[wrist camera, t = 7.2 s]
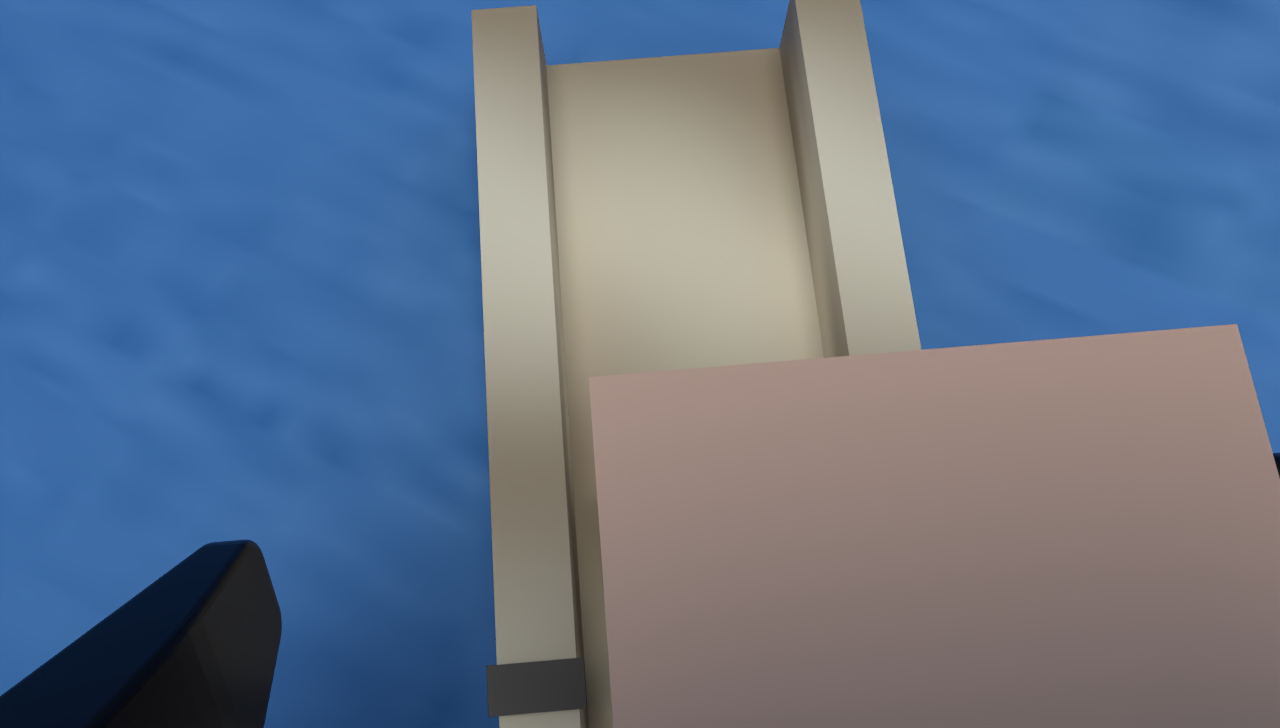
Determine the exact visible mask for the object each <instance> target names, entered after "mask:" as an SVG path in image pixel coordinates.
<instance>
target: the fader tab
mask: <svg viewBox="0 0 1280 728" xmlns="http://www.w3.org/2000/svg"><path fill="white" fill-rule="evenodd" d="M589 389H590V403H591V417H592V431H593V446H594V460H595V474H596V488H597V502H598V516H599V530H600V545H601V559H602V573H603V587H604V601H605V615H606V630H607V644H608V658H609V672H610V686H611V700H612V714H613V728H1280V478H1279V474H1278V471H1277V467H1276V464H1275V460H1274V456H1273V453H1272V449H1271V445H1270V442H1269V438H1268V435H1267V431H1266V427H1265V424H1264V420H1263V417H1262V413H1261V409H1260V406H1259V402H1258V398H1257V395H1256V391H1255V388H1254V384H1253V380H1252V377H1251V373H1250V369H1249V366H1248V362H1247V359H1246V355H1245V351H1244V348H1243V344H1242V341H1241V337H1240V333H1239V330H1238V326H1237V324H1232V325H1220V326H1208V327H1196V328H1184V329H1171V330H1159V331H1147V332H1135V333H1122V334H1110V335H1098V336H1086V337H1073V338H1061V339H1049V340H1037V341H1024V342H1012V343H1000V344H988V345H976V346H963V347H951V348H939V349H927V350H914V351H902V352H890V353H878V354H865V355H853V356H841V357H829V358H816V359H804V360H792V361H780V362H768V363H755V364H743V365H731V366H719V367H706V368H694V369H682V370H670V371H657V372H645V373H633V374H621V375H608V376H596V377H589Z"/></svg>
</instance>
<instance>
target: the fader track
mask: <svg viewBox="0 0 1280 728" xmlns="http://www.w3.org/2000/svg"><path fill="white" fill-rule="evenodd" d="M472 35H473V61H474V86H475V112H476V138H477V164H478V190H479V215H480V241H481V267H482V293H483V318H484V344H485V370H486V396H487V422H488V447H489V473H490V499H491V525H492V551H493V576H494V602H495V628H496V654H497V665H489V666H486V667H487V694H488V717H495V716H499V728H613V714H612V700H611V686H610V672H609V658H608V644H607V630H606V615H605V601H604V587H603V573H602V559H601V545H600V530H599V516H598V502H597V488H596V474H595V460H594V446H593V431H592V417H591V403H590V389H589V377H596V376H608V375H621V374H633V373H645V372H657V371H670V370H682V369H694V368H706V367H719V366H731V365H743V364H755V363H768V362H780V361H792V360H804V359H816V358H829V357H841V356H853V355H865V354H878V353H890V352H902V351H914V350H921V345H920V339H919V333H918V328H917V322H916V316H915V311H914V305H913V299H912V294H911V288H910V282H909V276H908V271H907V265H906V259H905V254H904V248H903V242H902V237H901V231H900V225H899V219H898V214H897V208H896V202H895V197H894V191H893V185H892V180H891V174H890V168H889V162H888V157H887V151H886V145H885V140H884V134H883V128H882V123H881V117H880V111H879V105H878V100H877V94H876V88H875V83H874V77H873V71H872V66H871V60H870V54H869V48H868V43H867V37H866V31H865V26H864V20H863V14H862V9H861V3H860V0H790V2H789V6H788V11H787V15H786V20H785V25H784V29H783V34H782V38H781V43H780V47H779V48H772V49H759V50H746V51H733V52H719V53H706V54H693V55H680V56H667V57H654V58H640V59H627V60H614V61H601V62H588V63H574V64H561V65H548V66H546V61H545V55H544V49H543V43H542V37H541V31H540V25H539V19H538V13H537V8H536V5H534V6H520V7H507V8H494V9H480V10H472Z"/></svg>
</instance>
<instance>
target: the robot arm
mask: <svg viewBox="0 0 1280 728" xmlns="http://www.w3.org/2000/svg"><path fill="white" fill-rule="evenodd" d="M1273 456H1274V460H1275V464H1276V467H1277V471H1278V474H1279V478H1280V453H1273ZM281 629H282V621H281V612H280V608H279V604H278V601H277V598H276V595H275V592H274V588H273V585H272V582H271V579H270V576H269V573H268V569H267V566H266V563H265V560H264V557H263V554H262V551H261V549H260V548H259V546H258V545H257V544H256V543H255V542H253V541H251V540H236V541H224V542H213V543H209V544H206V545H204V546H202V547H201V548H200V549H198V550H197V551H195V552H194V553H193V554H191V555H190V556H189V557H187V558H186V559H185V560H183V561H182V562H181V563H179V564H178V565H177V566H175V567H174V568H173V569H171V570H170V571H168V572H167V573H166V574H164V575H163V576H162V577H160V578H159V579H158V580H156V581H155V582H154V583H152V584H151V585H150V586H148V587H147V588H146V589H144V590H143V591H142V592H140V593H139V594H137V595H136V596H135V597H133V598H132V599H131V600H129V601H128V602H127V603H125V604H124V605H123V606H121V607H120V608H119V609H117V610H116V611H115V612H113V613H112V614H111V615H109V616H108V617H106V618H105V619H104V620H102V621H101V622H100V623H98V624H97V625H96V626H94V627H93V628H92V629H90V630H89V631H88V632H86V633H85V634H84V635H82V636H81V637H80V638H78V639H77V640H75V641H74V642H73V643H71V644H70V645H69V646H67V647H66V648H65V649H63V650H62V651H61V652H59V653H58V654H57V655H55V656H54V657H53V658H51V659H50V660H48V661H47V662H46V663H44V664H43V665H42V666H40V667H39V668H38V669H36V670H35V671H34V672H32V673H31V674H30V675H28V676H27V677H26V678H24V679H23V680H21V681H20V682H19V683H17V684H16V685H15V686H13V687H12V688H11V689H9V690H8V691H7V692H5V693H4V694H3V695H1V696H0V728H264V723H265V718H266V713H267V707H268V702H269V697H270V691H271V686H272V681H273V676H274V670H275V665H276V660H277V654H278V649H279V644H280V638H281Z"/></svg>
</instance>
